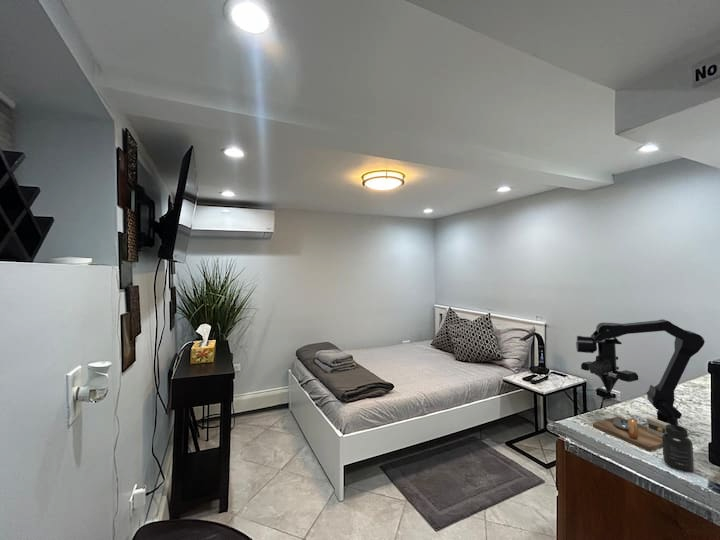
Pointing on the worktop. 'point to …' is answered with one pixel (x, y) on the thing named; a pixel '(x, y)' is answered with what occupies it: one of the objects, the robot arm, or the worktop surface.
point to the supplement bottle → (677, 448)
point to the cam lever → (628, 426)
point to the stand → (647, 435)
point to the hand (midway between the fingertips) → (608, 391)
